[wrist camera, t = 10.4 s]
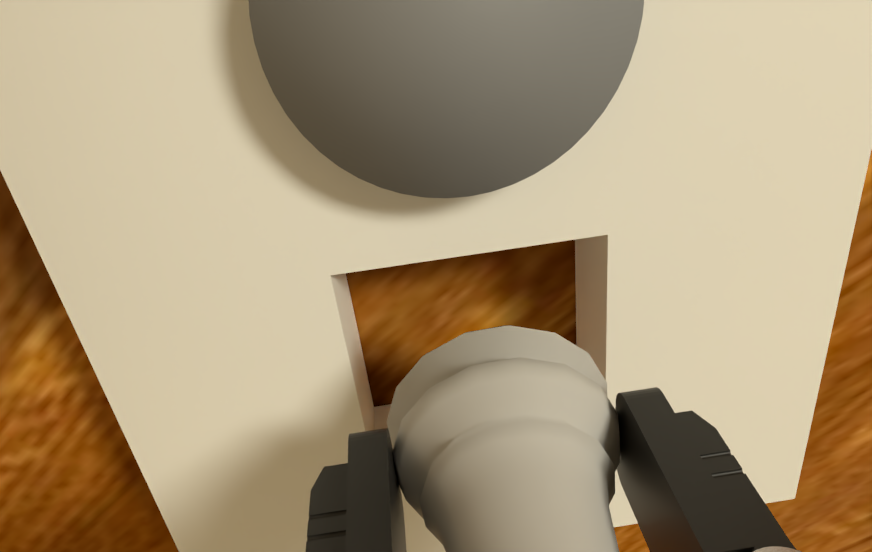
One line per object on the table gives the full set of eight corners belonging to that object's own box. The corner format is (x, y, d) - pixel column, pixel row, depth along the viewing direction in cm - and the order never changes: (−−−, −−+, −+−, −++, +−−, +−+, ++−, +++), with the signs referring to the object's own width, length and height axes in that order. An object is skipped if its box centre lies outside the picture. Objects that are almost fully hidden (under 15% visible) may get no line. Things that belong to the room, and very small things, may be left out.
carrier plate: (-96, -247, 11) (-274, -300, 8) (876, -371, 11) (1065, -466, 8) (216, 516, 20) (189, 628, 17) (748, 433, 20) (816, 529, 17)
